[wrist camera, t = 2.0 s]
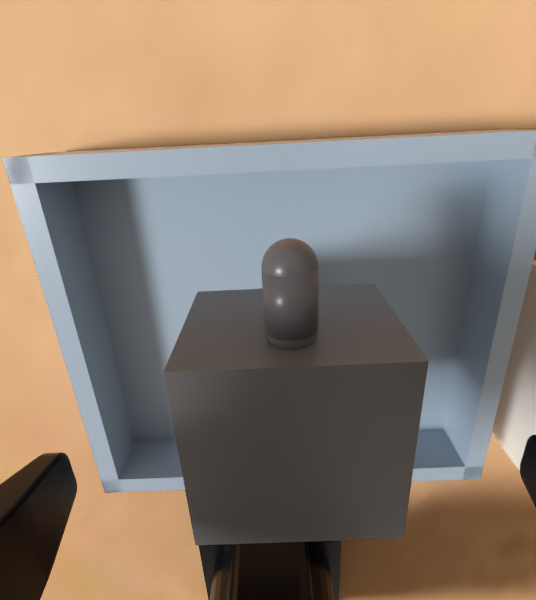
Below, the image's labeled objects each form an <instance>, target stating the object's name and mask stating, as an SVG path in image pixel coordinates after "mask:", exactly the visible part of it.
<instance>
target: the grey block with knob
mask: <svg viewBox="0 0 536 600" xmlns="http://www.w3.org/2000/svg"><path fill="white" fill-rule="evenodd" d="M261 273H262V288H258V289H243V290H220V291H198V292H197V294H196V296H195V299H194V301H193V304H192V306H191V308H190V311H189V313H188V315H187V318H186V320H185V322H184V325H183V327H182V329H181V332H180V334H179V336H178V339H177V341H176V343H175V346H174V348H173V350H172V353H171V355H170V358H169V360H168V362H167V365H166V367H165V369H164V372H163V374H164V379H165V385H166V390H167V395H168V401H169V406H170V411H171V417H172V422H173V427H174V433H175V438H176V443H177V449H178V454H179V459H180V465H181V470H182V475H183V481H184V486H185V491H186V496H187V502H188V507H189V512H190V518H191V523H192V528H193V534H194V539H195V544H196V545H220V544H250V543H279V542H308V541H338V540H367V539H396V538H403V537H404V530H405V523H406V516H407V509H408V502H409V495H410V488H411V481H412V474H413V467H414V460H415V453H416V446H417V439H418V432H419V425H420V418H421V411H422V404H423V397H424V390H425V383H426V376H427V369H428V362H429V361H428V360H427V358H426V357H425V355H424V354H423V353H422V351H421V350H420V348H419V347H418V345H417V344H416V343H415V341H414V340H413V338H412V337H411V335H410V334H409V332H408V331H407V330H406V328H405V327H404V325H403V324H402V322H401V321H400V320H399V318H398V317H397V315H396V314H395V312H394V311H393V310H392V308H391V307H390V305H389V304H388V302H387V301H386V300H385V298H384V297H383V295H382V294H381V292H380V291H379V290H378V288H377V287H376V285H375V284H354V285H332V286H319V266H318V259H317V256H316V254H315V252H314V250H313V249H312V248H311V247H310V246H309V245H308V244H306V243H305V242H303V241H301V240H299V239H294V238H286V239H281V240H279V241H277V242H275V243H273V244H272V245H271V246H270V247H269V248H268V249H267V251H266V252H265V254H264V256H263V259H262V263H261Z"/></svg>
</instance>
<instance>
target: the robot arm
mask: <svg viewBox="0 0 536 600" xmlns="http://www.w3.org/2000/svg"><path fill="white" fill-rule="evenodd" d="M520 474H521V478H522V480H523V482H524V484H525V486H526V489H527V491H528V493H529V495H530V497H531V499H532V501H533V503H534V505H535V507H536V435H531V436H530V437H529V438H528V440H527V442H526V446H525V449H524V453H523V456H522V460H521V463H520ZM76 492H77V483H76V479H75V476H74V473H73V470H72V467H71V464H70V461H69V458H68V456H67V455H66V454H65V453H45V454H42V455H40V456H39V457H37V458H36V459H35V460H33V461H32V462H30V463H29V464H28V465H26V466H25V467H23V468H22V469H21V470H19V471H18V472H17V473H15V474H14V475H12V476H11V477H10V478H8V479H7V480H6V481H4V482H3V483H1V484H0V600H40V598H41V596H42V593H43V591H44V588H45V586H46V583H47V581H48V578H49V575H50V573H51V570H52V567H53V564H54V561H55V558H56V555H57V552H58V549H59V546H60V543H61V539H62V536H63V533H64V530H65V527H66V524H67V521H68V518H69V515H70V512H71V509H72V506H73V502H74V499H75V496H76ZM199 549H200V555H201V560H202V566H203V571H204V577H205V582H206V588H207V593H208V599H209V600H338V595H339V572H340V550H341V540H338V541H308V542H279V543H250V544H220V545H199Z"/></svg>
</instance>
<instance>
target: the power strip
mask: <svg viewBox="0 0 536 600" xmlns="http://www.w3.org/2000/svg"><path fill="white" fill-rule="evenodd" d="M491 433H492V434H493V436H494V437H495V438H496V440H497V441H498V443H499V444H500V445H501V447H502V448H503V449H504V451H505V452H506V453H507V455H508V456H509V457H510V459H511V460H512V461H513V463H514V464H515V466H516V467H517V468H518V470H519V471H520V463H521V460H522V456H523V453H524V449H525V446H526V442H527V440H528V438H529V437H530V436H531V435H536V260H533V264H532V268H531V272H530V276H529V280H528V284H527V288H526V292H525V296H524V301H523V305H522V309H521V313H520V317H519V321H518V325H517V329H516V334H515V338H514V342H513V346H512V350H511V354H510V358H509V362H508V367H507V371H506V375H505V379H504V383H503V387H502V391H501V395H500V399H499V404H498V408H497V412H496V416H495V420H494V424H493V428H492V432H491Z"/></svg>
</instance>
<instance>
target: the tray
mask: <svg viewBox="0 0 536 600" xmlns="http://www.w3.org/2000/svg"><path fill="white" fill-rule="evenodd" d="M2 159H3V163H4V166H5V169H6V172H7V176H8V179H9V182H10V185H11V189H12V192H13V195H14V198H15V202H16V205H17V208H18V212H19V215H20V218H21V221H22V225H23V228H24V231H25V234H26V238H27V241H28V244H29V247H30V251H31V254H32V257H33V260H34V264H35V267H36V270H37V273H38V277H39V280H40V283H41V286H42V290H43V293H44V296H45V299H46V303H47V306H48V309H49V312H50V316H51V319H52V322H53V325H54V329H55V332H56V335H57V338H58V342H59V345H60V348H61V351H62V355H63V358H64V361H65V364H66V368H67V371H68V374H69V377H70V381H71V384H72V387H73V390H74V394H75V397H76V400H77V403H78V407H79V410H80V413H81V416H82V420H83V423H84V426H85V429H86V433H87V436H88V439H89V442H90V446H91V449H92V452H93V455H94V459H95V462H96V465H97V468H98V472H99V475H100V478H101V481H102V485H103V488H104V491H105V493H109V492H137V491H164V490H185V486H184V481H183V475H182V470H181V465H180V459H179V454H178V449H177V443H176V438H175V433H174V427H173V422H172V417H171V411H170V406H169V401H168V395H167V390H166V385H165V379H164V374H163V372H164V369H165V367H166V365H167V362H168V360H169V358H170V355H171V353H172V350H173V348H174V346H175V343H176V341H177V339H178V336H179V334H180V332H181V329H182V327H183V325H184V322H185V320H186V318H187V315H188V313H189V311H190V308H191V306H192V304H193V301H194V299H195V296H196V294H197V292H198V291H220V290H243V289H258V288H262V273H261V263H262V259H263V256H264V254H265V252H266V251H267V249H268V248H269V247H270V246H271V245H272V244H273V243H275V242H277V241H279V240H281V239H286V238H294V239H299V240H301V241H303V242H305V243H306V244H308V245H309V246H310V247H311V248H312V249H313V250H314V252H315V254H316V256H317V259H318V266H319V286H332V285H354V284H375V285H376V287H377V288H378V290H379V291H380V292H381V294H382V295H383V297H384V298H385V300H386V301H387V302H388V304H389V305H390V307H391V308H392V310H393V311H394V312H395V314H396V315H397V317H398V318H399V320H400V321H401V322H402V324H403V325H404V327H405V328H406V330H407V331H408V332H409V334H410V335H411V337H412V338H413V340H414V341H415V343H416V344H417V345H418V347H419V348H420V350H421V351H422V353H423V354H424V355H425V357H426V358H427V360H428V361H429V362H428V369H427V376H426V383H425V390H424V397H423V404H422V411H421V418H420V425H419V432H418V439H417V446H416V453H415V460H414V467H413V474H412V481H438V480H466V479H480V478H481V474H482V469H483V465H484V461H485V457H486V453H487V449H488V445H489V441H490V437H491V432H492V428H493V424H494V420H495V416H496V412H497V408H498V404H499V399H500V395H501V391H502V387H503V383H504V379H505V375H506V371H507V367H508V362H509V358H510V354H511V350H512V346H513V342H514V338H515V334H516V329H517V325H518V321H519V317H520V313H521V309H522V305H523V301H524V296H525V292H526V288H527V284H528V280H529V276H530V272H531V268H532V264H533V259H534V255H535V251H536V129H500V130H481V131H461V132H442V133H422V134H402V135H383V136H363V137H344V138H324V139H305V140H285V141H265V142H246V143H226V144H207V145H187V146H167V147H148V148H128V149H109V150H89V151H69V152H52V153H43V154H33V155H24V156H15V157H6V158H2Z"/></svg>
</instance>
